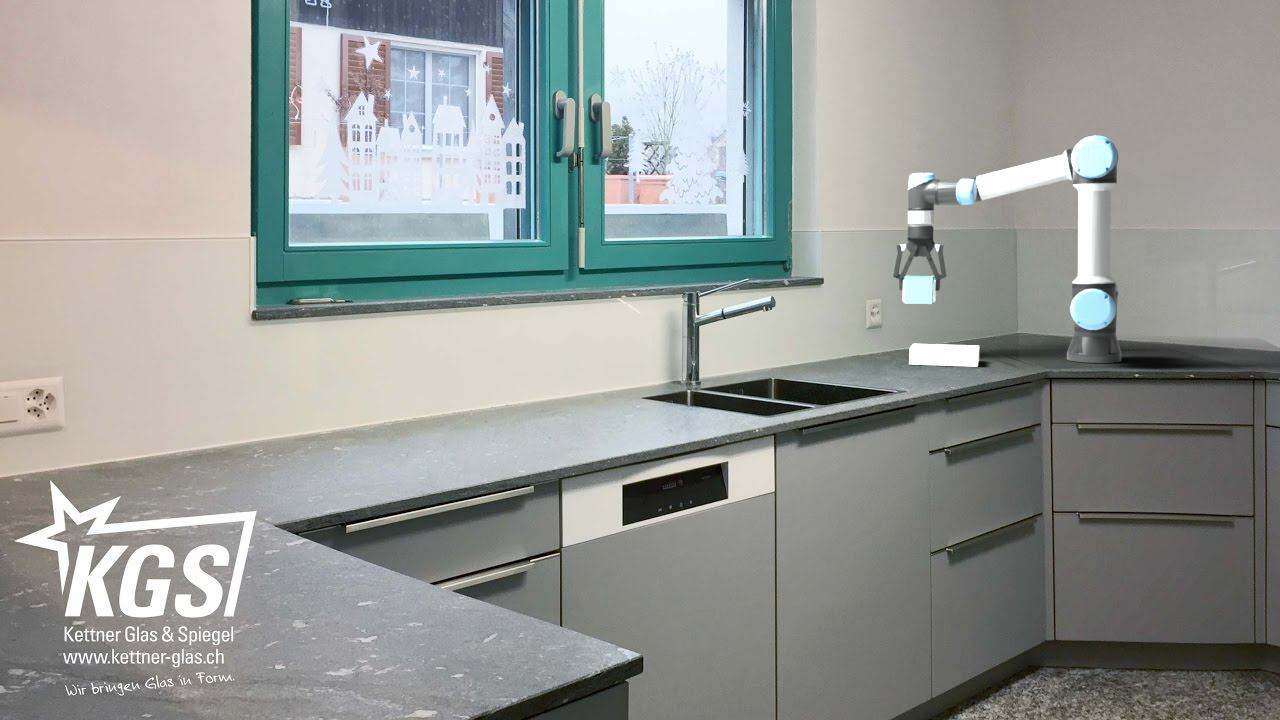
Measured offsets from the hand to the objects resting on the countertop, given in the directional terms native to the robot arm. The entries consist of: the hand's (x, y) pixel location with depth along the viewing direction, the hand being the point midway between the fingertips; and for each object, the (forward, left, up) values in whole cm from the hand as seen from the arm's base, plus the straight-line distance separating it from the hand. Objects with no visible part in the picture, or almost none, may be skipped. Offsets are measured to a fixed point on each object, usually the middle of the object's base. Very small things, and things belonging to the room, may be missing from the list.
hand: (919, 301), depth 363 cm
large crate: (-8, +11, -17) cm, 22 cm away
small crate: (0, 0, 0) cm, 0 cm away
